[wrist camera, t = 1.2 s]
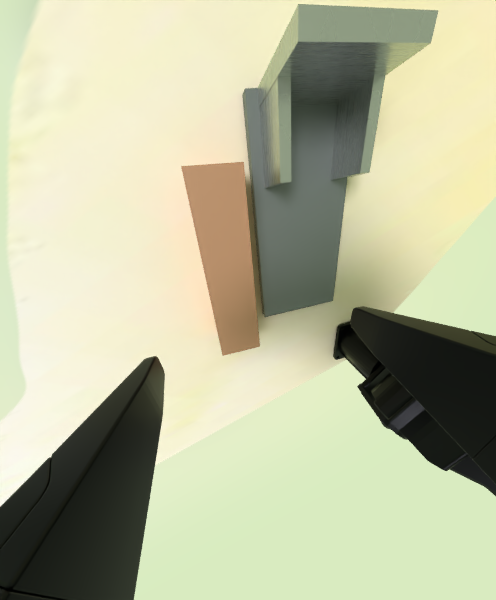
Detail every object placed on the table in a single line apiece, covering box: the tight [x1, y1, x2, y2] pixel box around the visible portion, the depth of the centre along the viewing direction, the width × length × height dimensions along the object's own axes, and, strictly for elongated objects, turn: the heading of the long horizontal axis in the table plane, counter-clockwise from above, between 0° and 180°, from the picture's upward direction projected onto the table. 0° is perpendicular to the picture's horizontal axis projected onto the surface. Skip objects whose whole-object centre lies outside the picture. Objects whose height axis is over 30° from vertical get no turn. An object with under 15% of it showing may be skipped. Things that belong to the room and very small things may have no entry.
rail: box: [181, 162, 260, 355], centre depth 17 cm, size 16×4×4 cm, turn 6°
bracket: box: [257, 4, 438, 188], centre depth 12 cm, size 6×7×6 cm
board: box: [243, 88, 347, 317], centre depth 18 cm, size 19×9×1 cm, turn 7°
